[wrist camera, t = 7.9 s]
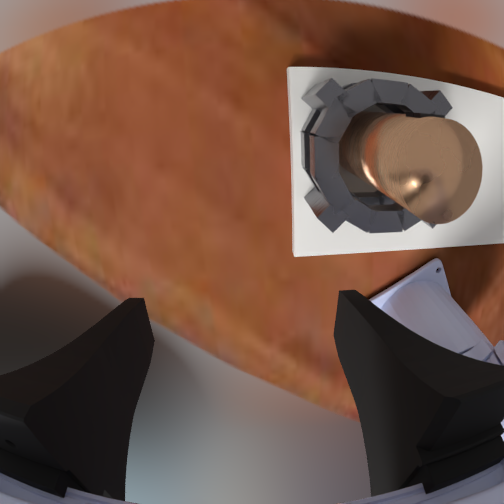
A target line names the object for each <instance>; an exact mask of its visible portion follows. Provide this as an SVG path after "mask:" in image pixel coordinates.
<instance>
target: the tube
mask: <svg viewBox="0 0 504 504" xmlns="http://www.w3.org/2000/svg"><path fill="white" fill-rule="evenodd" d="M339 164H340V165H341V166H342V167H343V168H344V169H345V170H347V171H348V172H350V173H352V174H353V175H355V176H357V177H358V178H360V179H361V180H363V181H364V182H366V183H368V184H369V185H371V186H372V187H374V188H375V189H377V190H379V191H380V192H382V193H383V194H385V195H386V196H388V197H389V198H391V199H392V200H394V201H395V202H397V203H398V204H399V205H401V206H402V207H404V208H405V209H407V210H408V211H410V212H411V213H412V214H414V215H415V216H417V217H418V218H419V219H421V220H423V221H425V222H428V223H431V224H446V223H449V222H452V221H454V220H456V219H457V218H459V217H460V216H462V215H463V214H464V213H465V212H466V211H467V210H468V209H469V208H470V206H471V205H472V203H473V202H474V200H475V198H476V196H477V194H478V191H479V188H480V185H481V180H482V170H483V166H482V157H481V153H480V149H479V147H478V144H477V142H476V140H475V138H474V137H473V135H472V134H471V132H470V131H469V130H468V129H467V128H466V127H465V126H463V125H462V124H460V123H459V122H457V121H454V120H452V119H447V118H445V115H436V114H426V113H414V112H406V114H399V113H385V112H365V111H361V112H359V113H358V114H356V115H354V116H353V117H352V119H351V121H350V123H349V125H348V127H347V128H346V130H345V132H344V134H343V136H342V137H341V139H340V141H339Z"/></svg>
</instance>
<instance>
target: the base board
mask: <svg viewBox="0 0 504 504" xmlns="http://www.w3.org/2000/svg"><path fill="white" fill-rule="evenodd" d="M330 78H333V79H334V80H335V81H336V82H337V83H338V84H339V85H340V86H341V87H342V86H344V85H347V84H351V83H358V82H360V81H363V80H367V79H372V78H373V79H382V80H391V81H399V82H406V83H408V84H411V85H412V86H414V87H415V88H416V89H418V90H419V91H433V90H440V91H441V92H442V93H443V95H444V96H445V97H446V99H447V100H448V102H449V103H450V104H451V106H452V107H453V108H452V109H451V110H450V111H449V112H448V114H447V115H446V116H445V118H447V119H452V120H454V121H457V122H459V123H460V124H462V125H463V126H465V127H466V128H467V129H468V130H469V131H470V132H471V134H472V135H473V137H474V138H475V140H476V142H477V144H478V147H479V149H480V153H481V157H482V166H483V170H482V180H481V185H480V188H479V191H478V194H477V196H476V198H475V200H474V202H473V203H472V205H471V206H470V208H469V209H468V210H467V211H466V212H465V213H464V214H463V215H462V216H460V217H459V218H457V219H456V220H454V221H452V222H449V223H446V224H437V225H436V226H435V227H434V228H433V229H432V228H431V227H429V226H428V225H427V224H425V223H424V222H423V221H420V222H418V223H417V224H415V225H414V226H412V227H410V228H409V229H407V230H406V231H404V230H402V232H391V233H369V232H367V233H366V232H365V231H363V230H361V229H359V228H358V227H356V226H354V225H352V224H351V223H349V222H347V221H345V222H344V223H343V224H342V225H341V226H340V227H339V228H338V229H337V230H336V231H335V232H334V233H332V232H331V231H330V230H329V229H328V228H327V227H326V226H325V225H324V224H323V223H322V222H321V221H320V220H318V219H317V217H316V216H315V214H314V213H313V211H312V209H311V208H310V206H309V205H308V203H307V202H306V200H305V199H304V197H305V196H306V195H307V194H308V193H309V192H310V191H311V190H312V189H313V188H314V186H313V184H312V183H311V181H310V179H309V178H308V176H307V174H306V173H305V171H304V169H303V168H302V167H303V166H302V165H301V132H304V131H302V130H301V129H302V127H303V125H304V123H305V122H306V120H307V118H308V116H309V114H310V113H311V111H312V108H311V107H310V106H309V105H308V104H307V103H305V102H304V101H303V100H302V99H301V98H302V97H303V96H304V95H305V94H306V93H307V92H308V91H309V90H310V89H311V88H312V87H313V86H314V85H315V84H318V83H320V82H322V81H325V80H327V79H330ZM287 83H288V102H289V124H290V149H291V184H292V251H293V254H294V257H299V256H316V255H332V254H349V253H365V252H380V251H396V250H411V249H426V248H441V247H456V246H471V245H485V244H499V243H504V98H503V97H500V96H496V95H493V94H490V93H486V92H482V91H479V90H475V89H471V88H467V87H463V86H459V85H454V84H450V83H445V82H440V81H435V80H430V79H425V78H419V77H413V76H407V75H400V74H393V73H385V72H377V71H367V70H356V69H343V68H324V67H288V68H287ZM363 111H365V112H385V111H383V110H382V109H380V108H379V107H377V106H376V105H372V106H370V107H368V108H367V109H365V110H363ZM385 113H386V112H385ZM339 173H340V175H341V177H342V179H343V181H344V182H345V184H346V186H347V188H348V190H349V191H351V192H375V191H377V189H375V188H374V187H372V186H371V185H369V184H368V183H366V182H364V181H363V180H361V179H360V178H358V177H357V176H355V175H353V174H352V173H350V172H348V171H347V170H345V169H344V168H343V167H342V166H341V165H340V164H339Z"/></svg>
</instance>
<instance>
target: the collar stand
mask: <svg viewBox="0 0 504 504" xmlns="http://www.w3.org/2000/svg"><path fill="white" fill-rule="evenodd" d="M301 99H302V100H303V101H304V102H305V103H307V104H308V105H309V106H310V107H311V108H312V111H311V113H310V114H309V116H308V118H307V120H306V122H305V123H304V125H303V127H302V129H301V130H302V131H304V132H301V165H302V166H303V167H302V168H303V169H304V171H305V173H306V174H307V176H308V178H309V179H310V181H311V183H312V184H313V186H314V188H313V189H312V190H311V191H310V192H309V193H308V194H307V195H306V196H305V197H304V199H305V200H306V202H307V203H308V205H309V206H310V208H311V209H312V211H313V213H314V214H315V216H316V217H317V219H318V220H320V221H321V222H322V223H323V224H324V225H325V226H326V227H327V228H328V229H329V230H330V231H331V232H332V233H334V232H335V231H336V230H337V229H338V228H339V227H340V226H341V225H342V224H343V223H344V222H345V221H347V222H349V223H351V224H352V225H354V226H356V227H358V228H359V229H361V230H363V231H365V232H366V233H367V232H369V233H391V232H402V230H404V231H406V230H407V229H409V228H410V227H412V226H414V225H415V224H417V223H418V222H420V221H423V220H421V219H419V218H418V217H417V216H415V215H414V214H412V213H411V212H410V211H408V210H407V209H405V208H404V207H402V206H401V205H399V204H398V203H397V202H395V201H394V200H392V199H391V198H389V197H388V196H386V195H385V194H383V193H382V192H380V191H379V190H377V191H375V192H351V191H349V190H348V188H347V186H346V184H345V182H344V181H343V179H342V177H341V175H340V173H339V141H340V139H341V137H342V136H343V134H344V132H345V130H346V128H347V127H348V125H349V123H350V121H351V119H352V117H353V116H354V115H356V114H358V113H359V112H361V111H363V110H365V109H367V108H368V107H370V106H372V105H376V106H377V107H379V108H380V109H382V110H383V111H385V112H386V113H399V114H406V112H414V113H426V114H436V115H445V116H446V115H447V114H448V112H449V111H450V110H451V109H452V108H453V107H452V106H451V104H450V103H449V102H448V100H447V99H446V97H445V96H444V95H443V93H442V92H441V91H440V90H433V91H419V90H418V89H416V88H415V87H414V86H412V85H411V84H408V83H406V82H399V81H391V80H382V79H373V78H372V79H367V80H363V81H360V82H358V83H351V84H347V85H344V86H342V87H341V86H340V85H339V84H338V83H337V82H336V81H335V80H334V79H333V78H330V79H327V80H325V81H322V82H320V83H318V84H315V85H314V86H313V87H312V88H311V89H310V90H309V91H308V92H307V93H306V94H305V95H304V96H303V97H302V98H301ZM423 222H424V223H425V224H427V225H428V226H429V227H431V228H432V229H433V228H434V227H435V226H436V225H437V224H431V223H428V222H425V221H423Z"/></svg>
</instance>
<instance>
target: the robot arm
mask: <svg viewBox="0 0 504 504" xmlns="http://www.w3.org/2000/svg"><path fill="white" fill-rule="evenodd" d="M437 268H439V269H438V270H437ZM436 270H437V271H436ZM334 339H335V343H336V348H337V352H338V356H339V359H340V362H341V365H342V368H343V370H344V373H345V376H346V378H347V381H348V384H349V386H350V389H351V392H352V395H353V397H354V400H355V403H356V406H357V410H358V413H359V418H360V422H361V427H362V432H363V437H364V443H365V448H366V454H367V460H368V468H369V476H370V487H371V497H369V498H364V499H360V500H355V501H349V502H344V503H338V504H504V341H503V340H500V341H499V342H498V343H497V345H496V346H495V347H494V346H493V345H492V344H491V343H490V341H489V340H488V339H487V338H486V337H485V335H484V334H483V333H482V332H481V330H480V329H479V328H478V327H477V326H476V325H475V323H474V322H473V321H472V320H471V319H470V317H469V316H468V315H467V314H466V313H465V312H464V311H463V309H462V308H461V307H460V306H459V305H458V304H457V303H456V302H455V300H454V299H453V298H452V297H451V293H450V290H449V286H448V282H447V279H446V275H445V272H444V268H443V265H442V262H441V260H440V259H438V258H435V259H433V260H431V261H430V262H428V263H427V264H425V265H424V266H422V267H421V268H419V269H418V270H416V271H415V272H413V273H411V274H410V275H408V276H407V277H405V278H404V279H402V280H400V281H399V282H397V283H396V284H394V285H392V286H391V287H389V288H387V289H386V290H384V291H382V292H381V293H379V294H377V295H376V296H374V297H372V298H371V299H369V300H368V299H367V298H366V297H364V296H363V295H362V294H360V293H359V292H357V291H356V290H344V291H339V297H338V305H337V313H336V321H335V328H334ZM154 341H155V340H154V337H153V333H152V329H151V325H150V321H149V317H148V313H147V309H146V305H145V301H144V298H128V299H127V300H125V301H124V302H123V303H121V304H120V305H119V306H118V307H116V308H115V309H114V310H113V311H111V312H110V313H109V314H108V315H106V316H105V317H104V318H103V319H101V320H100V321H99V322H98V323H96V324H95V325H94V326H93V327H91V328H90V329H88V330H87V331H86V332H84V333H83V334H82V335H80V336H79V337H78V338H76V339H75V340H73V341H72V342H70V343H69V344H67V345H66V346H64V347H63V348H61V349H59V350H58V351H56V352H54V353H53V354H51V355H49V356H47V357H45V358H43V359H41V360H39V361H37V362H35V363H33V364H30V365H28V366H26V367H23V368H21V369H18V370H15V371H13V372H10V373H7V374H3V375H0V504H137V503H131V502H126V501H125V479H126V465H127V455H128V446H129V439H130V432H131V427H132V421H133V416H134V412H135V409H136V405H137V402H138V399H139V396H140V393H141V390H142V387H143V384H144V381H145V377H146V375H147V371H148V369H149V366H150V362H151V357H152V352H153V346H154Z"/></svg>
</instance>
